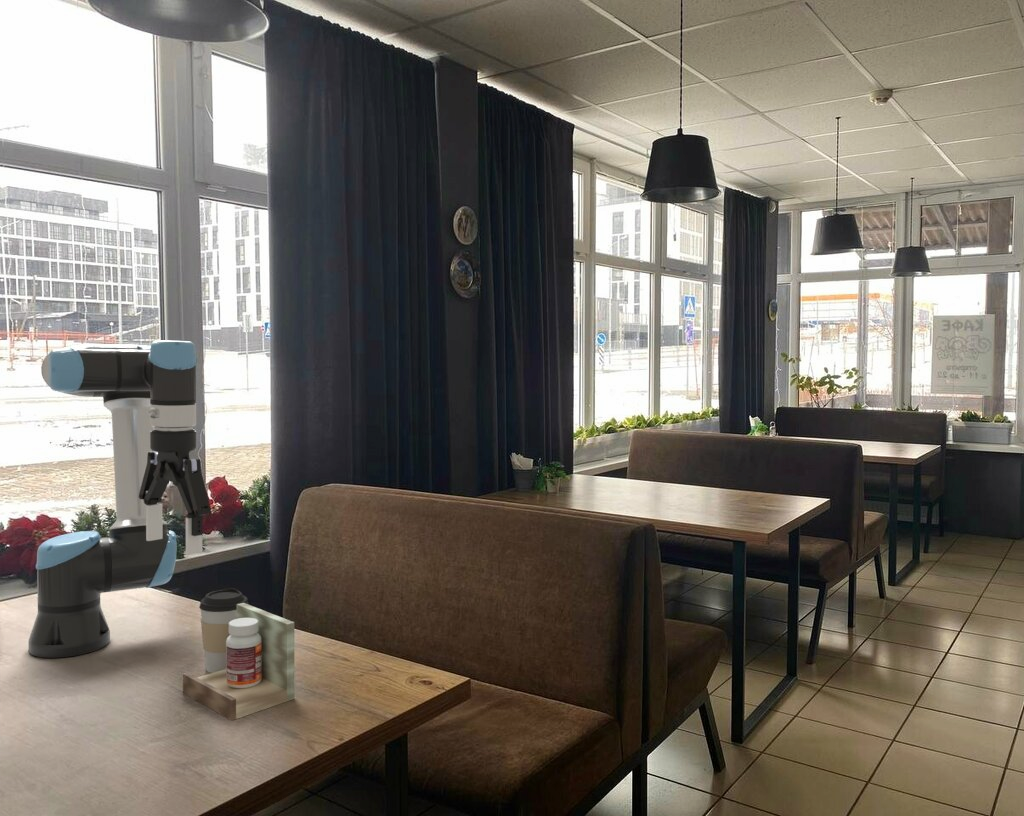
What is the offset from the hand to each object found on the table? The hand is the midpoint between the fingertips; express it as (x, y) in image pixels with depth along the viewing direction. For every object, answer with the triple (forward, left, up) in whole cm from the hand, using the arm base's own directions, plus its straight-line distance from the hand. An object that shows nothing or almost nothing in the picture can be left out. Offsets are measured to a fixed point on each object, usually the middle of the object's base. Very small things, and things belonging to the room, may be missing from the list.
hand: (173, 546), depth 147 cm
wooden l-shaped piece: (+8, +8, -27) cm, 30 cm away
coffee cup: (-6, +13, -28) cm, 31 cm away
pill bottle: (+8, +9, -26) cm, 28 cm away
